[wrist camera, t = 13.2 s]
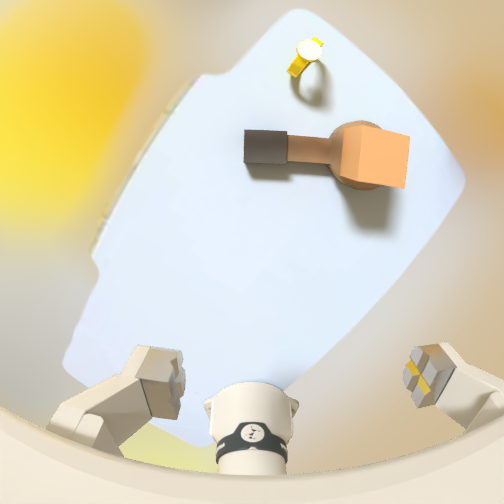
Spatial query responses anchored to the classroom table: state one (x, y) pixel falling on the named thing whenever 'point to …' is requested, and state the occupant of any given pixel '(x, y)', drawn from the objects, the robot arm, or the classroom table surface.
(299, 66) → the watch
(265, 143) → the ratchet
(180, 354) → the robot arm
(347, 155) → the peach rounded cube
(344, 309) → the classroom table surface
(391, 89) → the classroom table surface
